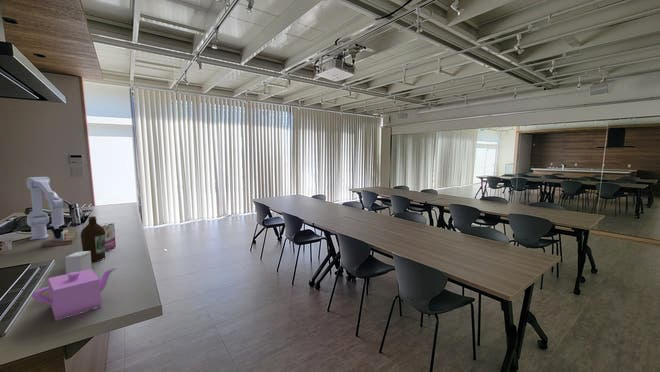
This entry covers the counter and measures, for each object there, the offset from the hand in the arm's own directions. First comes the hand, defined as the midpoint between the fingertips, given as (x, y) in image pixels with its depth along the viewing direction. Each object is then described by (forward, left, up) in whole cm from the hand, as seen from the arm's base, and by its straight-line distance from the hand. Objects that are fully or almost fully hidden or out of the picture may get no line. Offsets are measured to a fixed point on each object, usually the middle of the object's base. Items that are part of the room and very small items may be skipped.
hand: (59, 237), depth 183 cm
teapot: (+110, +20, -4) cm, 111 cm away
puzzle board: (-6, 0, -4) cm, 7 cm away
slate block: (0, 0, -3) cm, 3 cm away
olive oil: (+50, +21, -4) cm, 54 cm away
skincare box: (+86, +18, -4) cm, 88 cm away
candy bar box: (+33, +25, -4) cm, 42 cm away
